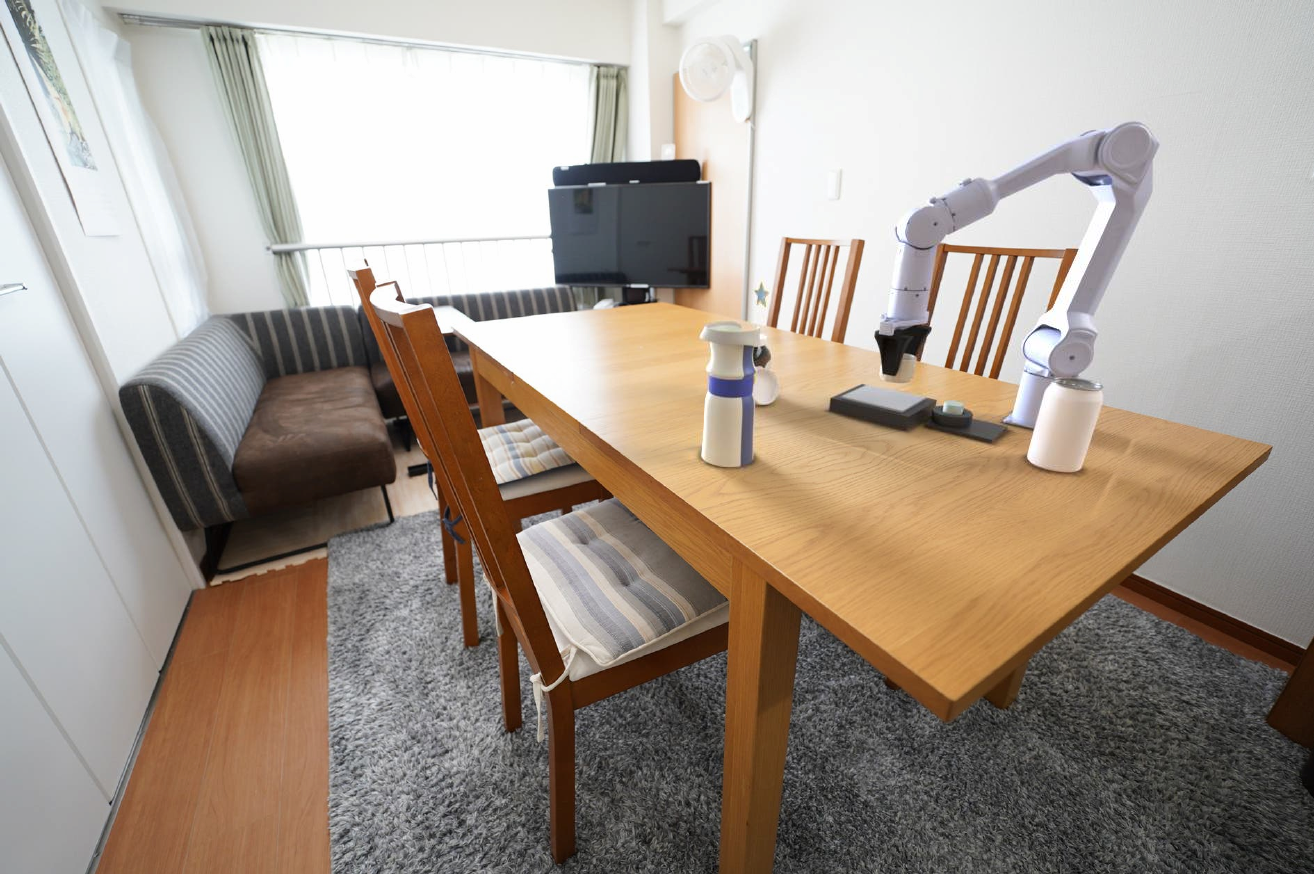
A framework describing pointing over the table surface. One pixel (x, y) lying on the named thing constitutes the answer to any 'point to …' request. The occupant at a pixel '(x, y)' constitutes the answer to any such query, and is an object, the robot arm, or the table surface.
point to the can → (1065, 424)
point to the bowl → (902, 370)
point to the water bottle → (730, 392)
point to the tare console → (965, 425)
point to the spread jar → (764, 375)
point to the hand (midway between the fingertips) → (897, 371)
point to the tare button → (953, 407)
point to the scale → (883, 406)
